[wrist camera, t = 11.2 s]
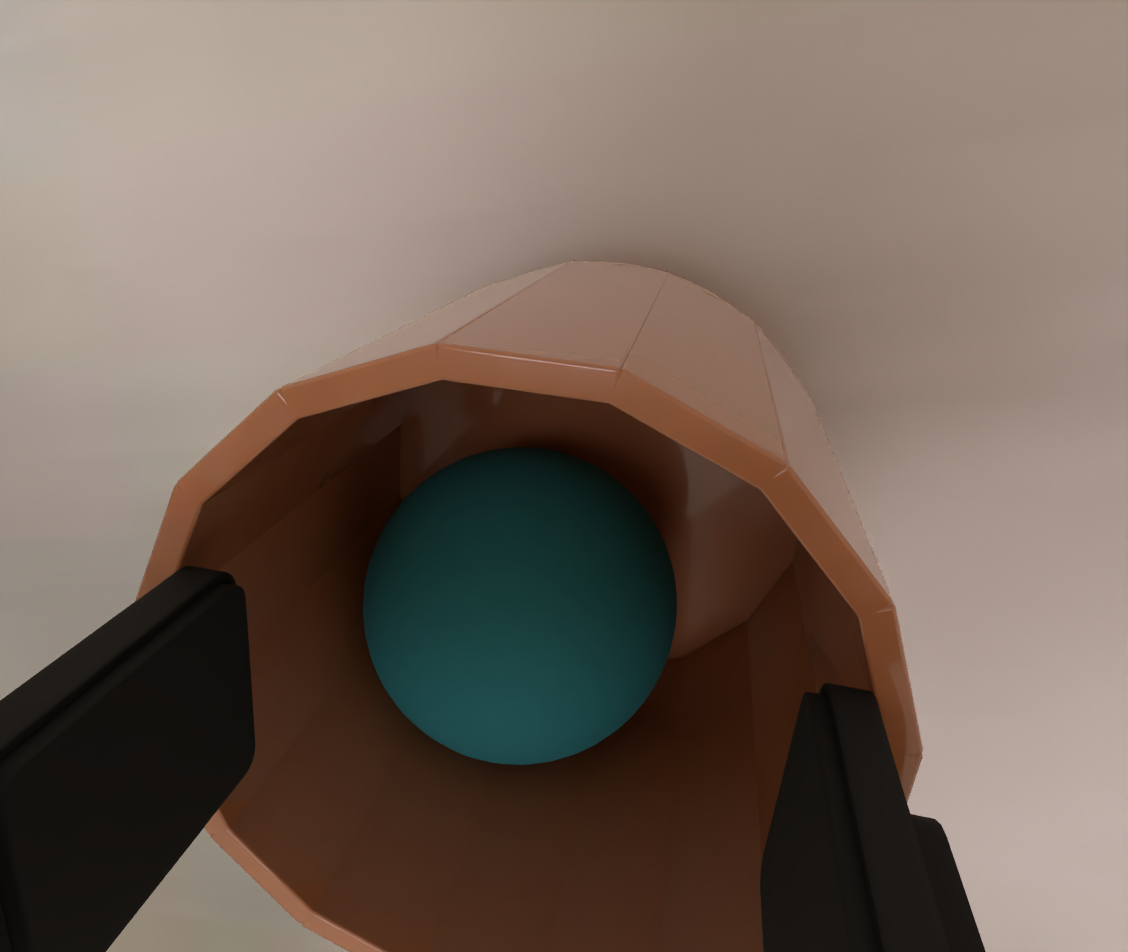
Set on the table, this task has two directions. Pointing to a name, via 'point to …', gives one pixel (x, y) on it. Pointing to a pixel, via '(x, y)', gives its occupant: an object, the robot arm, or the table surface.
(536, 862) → the terracotta pot
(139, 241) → the table surface
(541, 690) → the ball
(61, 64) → the table surface
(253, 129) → the table surface
